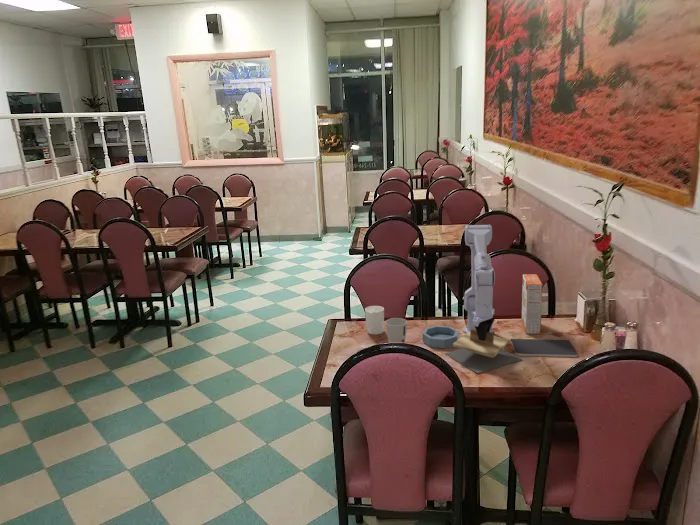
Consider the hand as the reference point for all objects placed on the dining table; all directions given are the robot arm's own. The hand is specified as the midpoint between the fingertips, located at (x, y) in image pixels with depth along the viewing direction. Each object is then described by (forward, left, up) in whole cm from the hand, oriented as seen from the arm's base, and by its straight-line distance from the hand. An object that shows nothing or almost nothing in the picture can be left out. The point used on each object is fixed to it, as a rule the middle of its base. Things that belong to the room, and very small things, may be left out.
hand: (483, 338), depth 180 cm
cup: (+21, -25, -8) cm, 33 cm away
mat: (0, 0, -7) cm, 7 cm away
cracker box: (-34, -11, -8) cm, 37 cm away
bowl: (+4, -20, -7) cm, 22 cm away
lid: (0, -1, -2) cm, 2 cm away
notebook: (-23, +6, -8) cm, 25 cm away
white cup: (+21, -42, -8) cm, 48 cm away
